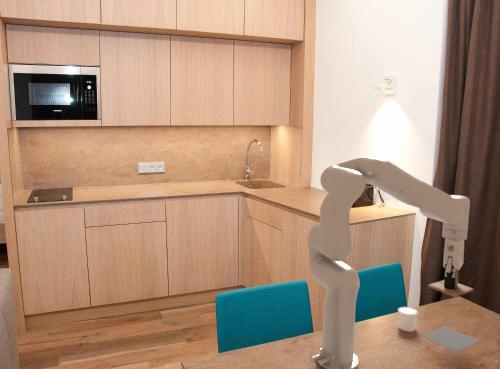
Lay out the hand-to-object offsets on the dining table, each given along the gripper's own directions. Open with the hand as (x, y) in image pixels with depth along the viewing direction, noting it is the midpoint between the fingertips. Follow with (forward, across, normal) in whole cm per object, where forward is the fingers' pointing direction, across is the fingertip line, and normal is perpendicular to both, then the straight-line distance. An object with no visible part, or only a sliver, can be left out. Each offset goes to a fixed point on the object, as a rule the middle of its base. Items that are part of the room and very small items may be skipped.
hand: (450, 285), depth 152 cm
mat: (+19, 0, -1) cm, 19 cm away
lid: (+1, 0, 0) cm, 1 cm away
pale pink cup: (+19, 0, +13) cm, 23 cm away
